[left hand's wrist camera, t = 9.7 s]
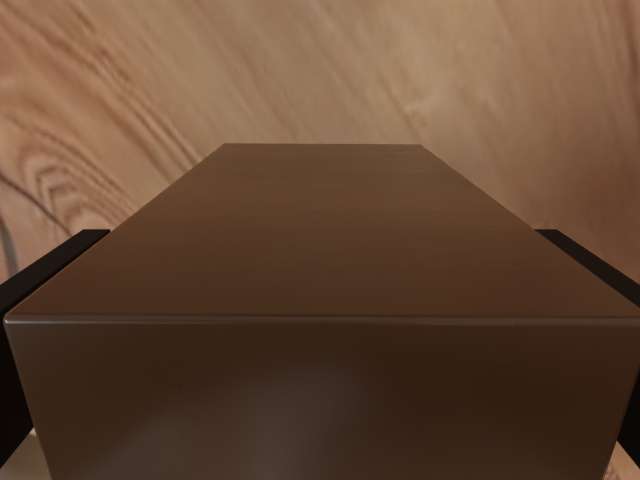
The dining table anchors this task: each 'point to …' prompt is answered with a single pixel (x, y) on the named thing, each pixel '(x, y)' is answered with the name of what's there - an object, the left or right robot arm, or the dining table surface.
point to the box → (325, 332)
